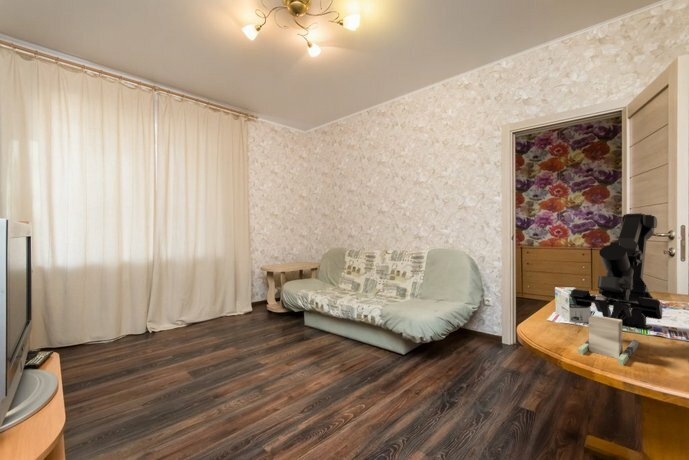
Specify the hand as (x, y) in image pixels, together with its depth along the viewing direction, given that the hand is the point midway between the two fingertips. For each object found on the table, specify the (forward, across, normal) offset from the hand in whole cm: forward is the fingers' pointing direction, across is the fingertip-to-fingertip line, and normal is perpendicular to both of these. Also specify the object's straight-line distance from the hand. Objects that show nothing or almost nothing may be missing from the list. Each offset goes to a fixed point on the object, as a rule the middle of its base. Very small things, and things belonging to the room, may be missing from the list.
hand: (607, 329), depth 82 cm
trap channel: (+4, 0, +5) cm, 7 cm away
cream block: (+6, 0, +2) cm, 6 cm away
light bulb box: (-12, -15, +22) cm, 29 cm away
